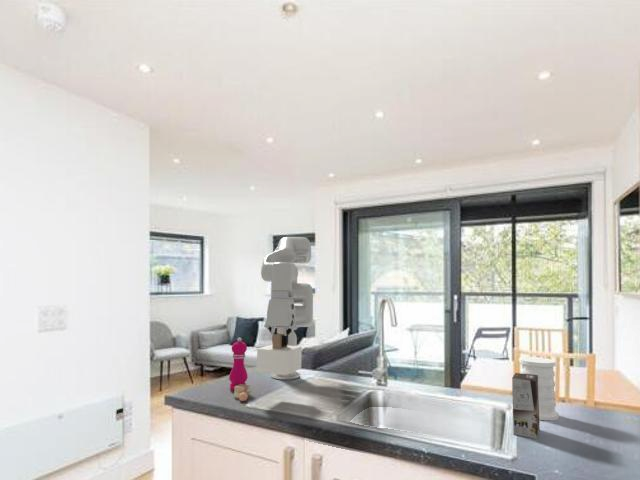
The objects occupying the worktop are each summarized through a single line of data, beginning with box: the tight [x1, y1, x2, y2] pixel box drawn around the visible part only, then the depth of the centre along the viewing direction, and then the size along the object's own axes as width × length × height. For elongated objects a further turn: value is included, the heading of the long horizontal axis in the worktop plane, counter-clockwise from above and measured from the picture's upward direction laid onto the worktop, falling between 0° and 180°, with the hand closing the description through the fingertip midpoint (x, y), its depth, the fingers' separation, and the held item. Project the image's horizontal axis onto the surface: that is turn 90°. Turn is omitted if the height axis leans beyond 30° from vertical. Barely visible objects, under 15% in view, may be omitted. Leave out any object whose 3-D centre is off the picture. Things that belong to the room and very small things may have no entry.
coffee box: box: [511, 372, 540, 440], centre depth 123 cm, size 9×6×16 cm
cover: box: [256, 333, 303, 375], centre depth 152 cm, size 12×12×13 cm
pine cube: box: [233, 384, 251, 399], centre depth 155 cm, size 4×4×4 cm
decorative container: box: [518, 356, 560, 421], centre depth 139 cm, size 12×12×18 cm
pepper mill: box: [228, 337, 248, 391], centre depth 167 cm, size 7×7×20 cm
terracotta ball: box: [238, 392, 249, 402], centre depth 149 cm, size 3×3×3 cm
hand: (280, 345), depth 152 cm, fingers closed on cover, 3 cm apart
